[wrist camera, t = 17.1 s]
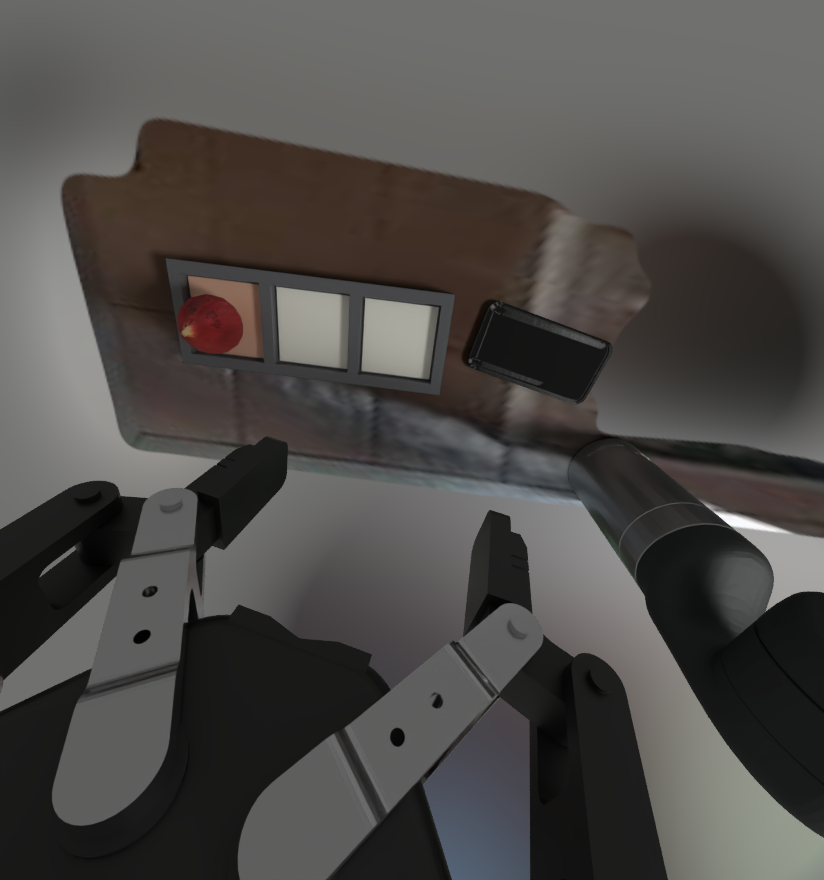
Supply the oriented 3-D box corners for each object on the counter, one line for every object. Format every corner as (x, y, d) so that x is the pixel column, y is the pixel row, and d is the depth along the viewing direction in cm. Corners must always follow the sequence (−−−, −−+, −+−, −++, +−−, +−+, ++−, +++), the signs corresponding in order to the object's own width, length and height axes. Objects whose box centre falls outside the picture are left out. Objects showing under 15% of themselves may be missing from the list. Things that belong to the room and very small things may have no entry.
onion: (204, 287, 38) (150, 289, 31) (256, 300, 38) (215, 304, 31) (205, 340, 40) (155, 353, 33) (254, 352, 40) (216, 368, 33)
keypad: (453, 294, 38) (454, 294, 36) (439, 388, 43) (439, 395, 40) (182, 259, 38) (165, 258, 36) (196, 358, 43) (182, 362, 40)
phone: (493, 298, 37) (617, 345, 39) (491, 298, 38) (612, 343, 40) (465, 367, 41) (580, 407, 42) (464, 364, 42) (577, 404, 43)
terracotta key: (262, 284, 38) (260, 284, 37) (267, 358, 41) (265, 358, 41) (190, 275, 38) (187, 275, 37) (200, 349, 41) (198, 350, 41)
